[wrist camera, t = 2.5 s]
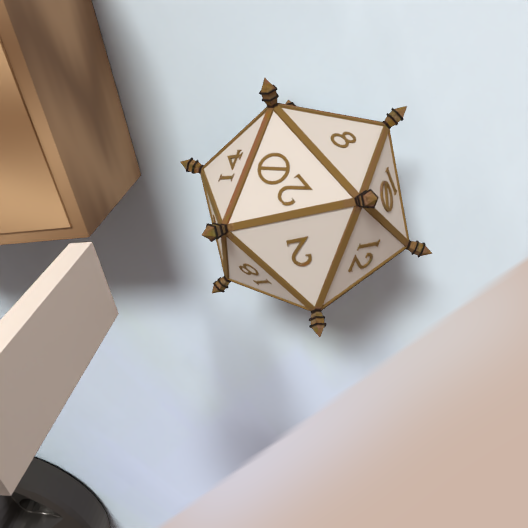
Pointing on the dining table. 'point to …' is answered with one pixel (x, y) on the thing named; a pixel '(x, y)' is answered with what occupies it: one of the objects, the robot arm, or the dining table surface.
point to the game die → (305, 204)
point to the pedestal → (58, 123)
